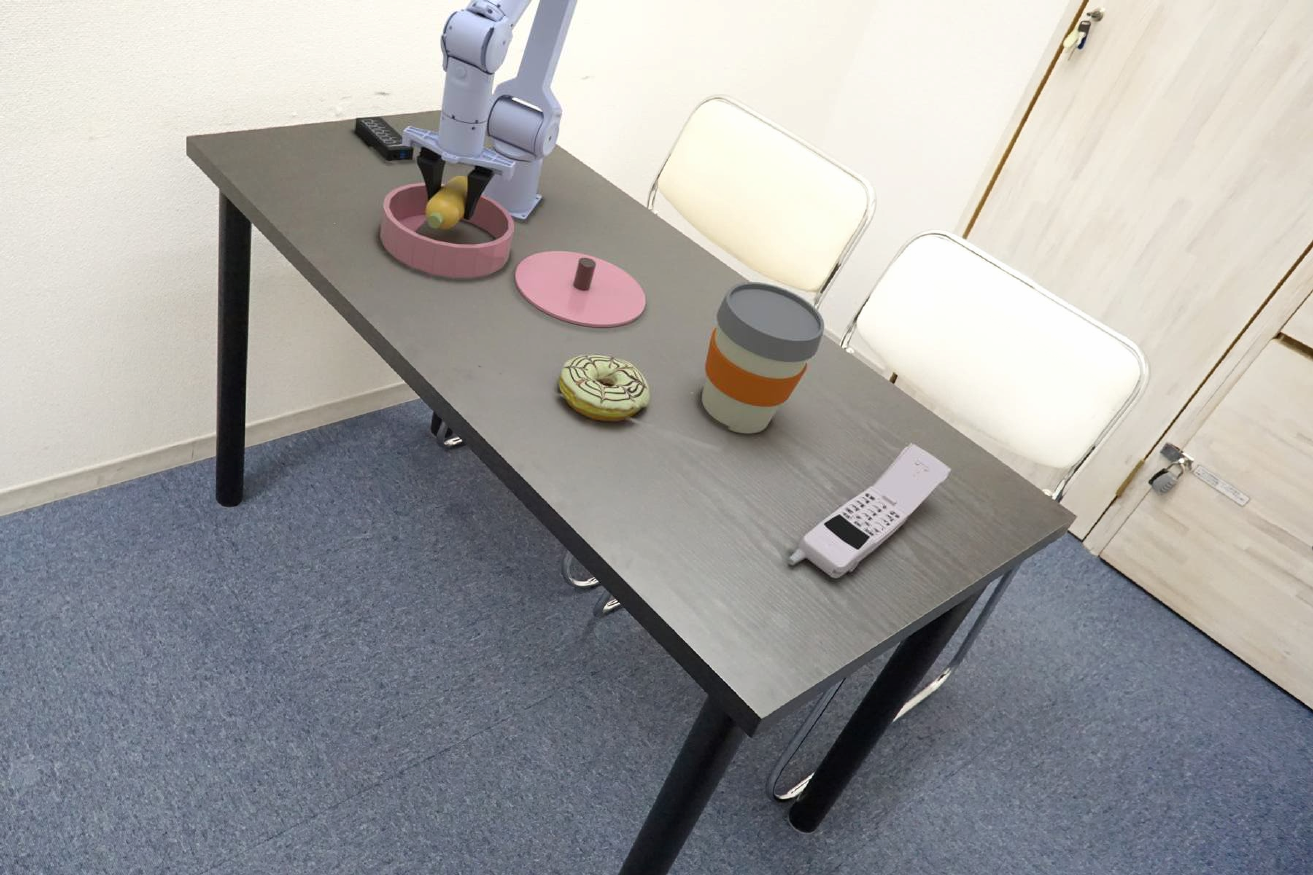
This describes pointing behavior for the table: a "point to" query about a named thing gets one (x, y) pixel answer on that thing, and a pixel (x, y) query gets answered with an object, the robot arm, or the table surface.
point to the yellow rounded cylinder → (447, 204)
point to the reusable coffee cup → (758, 354)
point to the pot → (440, 257)
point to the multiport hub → (383, 138)
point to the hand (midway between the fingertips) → (450, 210)
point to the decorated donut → (603, 387)
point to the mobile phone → (872, 513)
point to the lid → (580, 289)
